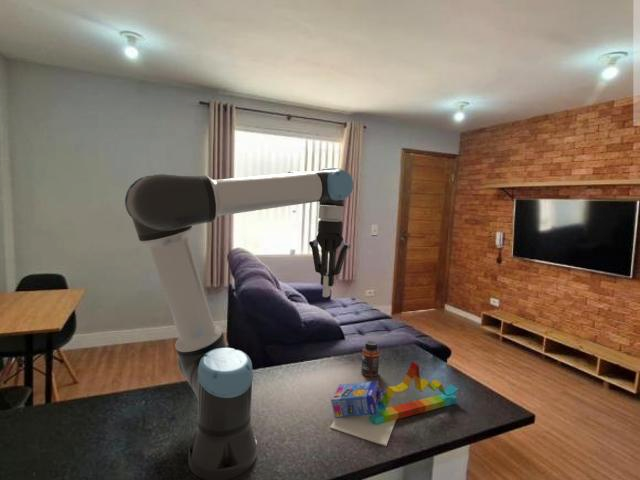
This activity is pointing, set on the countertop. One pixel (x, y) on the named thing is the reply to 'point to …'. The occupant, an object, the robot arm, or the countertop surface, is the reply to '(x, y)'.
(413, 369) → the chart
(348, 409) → the ink cartridge box
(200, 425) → the robot arm
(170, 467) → the countertop surface
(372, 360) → the supplement bottle
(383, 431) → the plain beige panel
